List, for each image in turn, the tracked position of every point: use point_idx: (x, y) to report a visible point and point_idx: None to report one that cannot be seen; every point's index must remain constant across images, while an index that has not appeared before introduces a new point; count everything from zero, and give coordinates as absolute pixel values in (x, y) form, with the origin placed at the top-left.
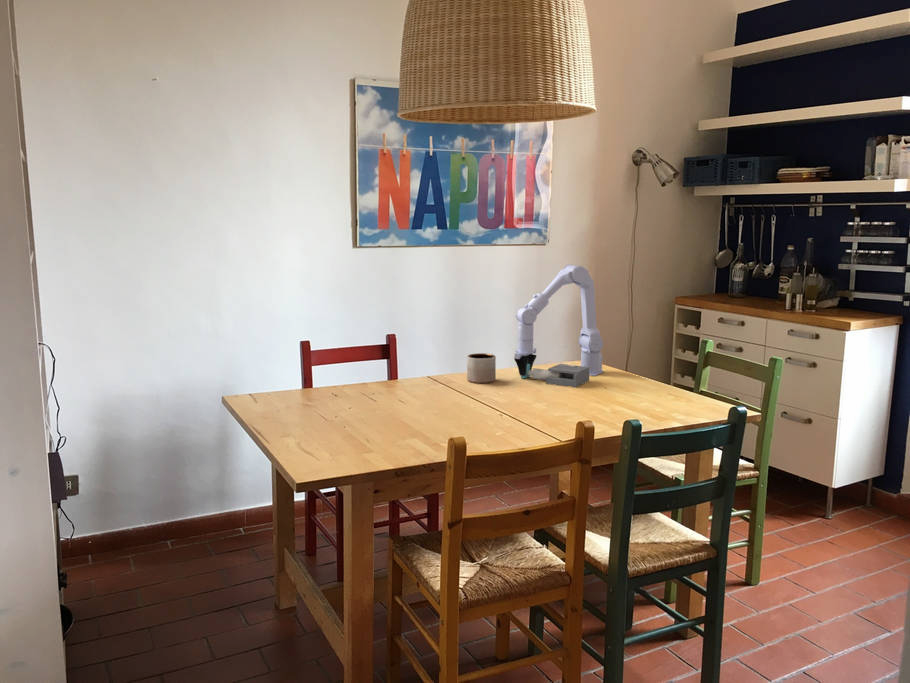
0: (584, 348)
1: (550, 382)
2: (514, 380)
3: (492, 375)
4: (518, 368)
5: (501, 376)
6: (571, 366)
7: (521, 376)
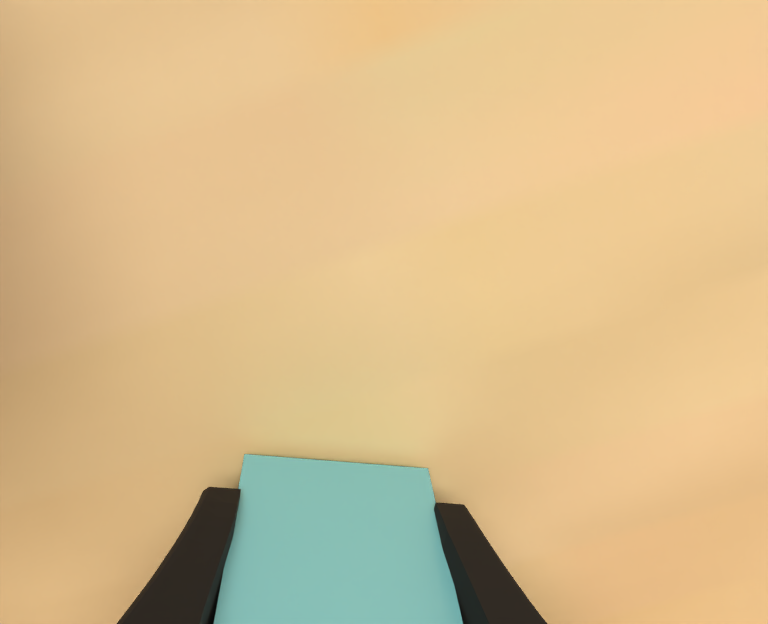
0: None
1: None
2: (43, 406)
3: None
4: (144, 594)
5: (252, 29)
6: None
7: (240, 486)
